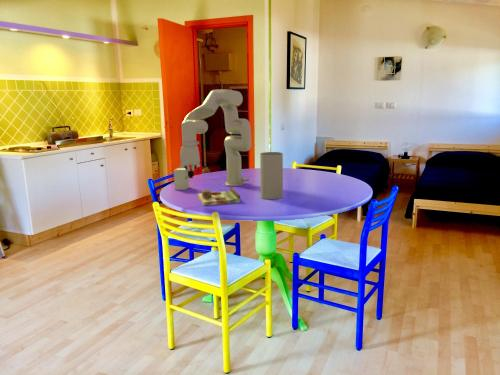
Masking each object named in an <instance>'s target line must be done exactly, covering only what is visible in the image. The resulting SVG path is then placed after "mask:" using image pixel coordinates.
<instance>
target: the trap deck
mask: <svg viewBox="0 0 500 375" xmlns="http://www.w3.org/2000/svg"><path fill="white" fill-rule="evenodd" d="M211 196H212V198H204V199H203V197H202V192H201V193H197V198H198V199H199V201H200V202H201V204H202V205H203V207H204V206H205V207H207V206H216V205H225V204H227V205H229V204H238V203H241V195H240V193H238V192H237V191H236V190H235V189H234V188H232V187H229V190H226V191H224V190H222V191H214V192H213V191H211Z"/></svg>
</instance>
